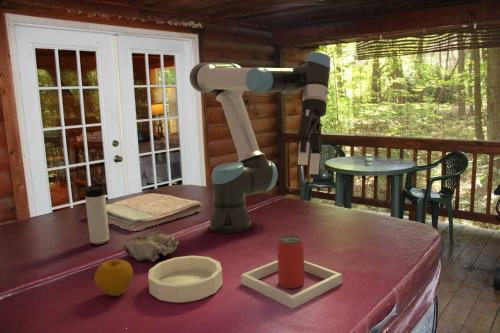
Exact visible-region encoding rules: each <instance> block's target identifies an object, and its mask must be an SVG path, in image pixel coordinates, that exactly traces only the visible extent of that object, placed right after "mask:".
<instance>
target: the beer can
mask: <svg viewBox="0 0 500 333" xmlns="http://www.w3.org/2000/svg"><path fill="white" fill-rule="evenodd" d="M278 240H279V241H278V243H277V260H278V271H277V276H278V284H279V285H280V287H283V288H286V289H297V288H300V287H301V286H303V285H304V283H305V271H304V260H305V259H304V258H305V257H304V256H305V252H304V249H305V248H304V243H303V241H302V237H300V236H298V235H295V234H287V235H282V236H281V237H279V239H278Z"/></svg>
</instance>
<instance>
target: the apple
mask: <svg viewBox="0 0 500 333" xmlns="http://www.w3.org/2000/svg"><path fill="white" fill-rule="evenodd" d="M133 272H134V271H133V267H132V266H131V264H130V263H129V262H128V261H126V260H124V259H111V260H106V261H104V262H103V263H101V264H100V265H99V266H98V268H97V269H96V271H95V273H94V278H93V280H94V283H95V285H96V286H97V287H98V288H99V289H101V291H103V292H104V293H105V294H107V295H109V296H111V297H118V296H121V295H123V294H124V293H125V292H126V291H127V289H128V288H129V287H130V284H131V282H132V280H133V275H134V274H133Z"/></svg>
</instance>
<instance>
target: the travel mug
mask: <svg viewBox="0 0 500 333" xmlns="http://www.w3.org/2000/svg"><path fill="white" fill-rule="evenodd" d="M84 197H85V206H86V215H87V225H88V235H89V236H88V237H89V243H90V242H91V243H103V242H106V241H108V240H109V239H110V233H109V224H108V219H107V209H106V205H107V202H106V193H105V185H104V183H97V184H92V185H89V186H87V187H85V188H84Z"/></svg>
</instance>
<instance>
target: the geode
mask: <svg viewBox="0 0 500 333" xmlns="http://www.w3.org/2000/svg"><path fill="white" fill-rule="evenodd" d="M175 238H176V237H175V236H174V235H173V234H171V235H169V234H164V232H163V233H162V230H156V231H151V232H148V233H145V234H141V235H139V236H138V235H137V236H133V237H129V238H128V239H126V240H125V241H124V242H123V244H122V250H123V251H124V252H125V253H126V254H127V255H128V256H131V257H132V258H134V259H136V261H137V262H143V261H151V262H152V263H153V262H155V261H157V259H160V256H159V254H161V255H162V256H167V255H169V254H172V253H173V252H175V251H176V250H177V249H178V245H179V244H180V242H179V241H178V240H176V239H175ZM166 254H167V255H166Z"/></svg>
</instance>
